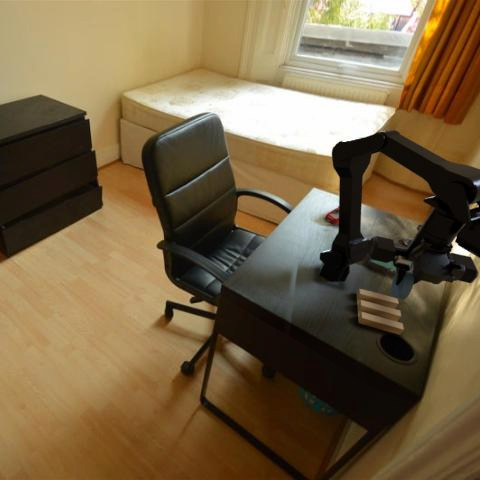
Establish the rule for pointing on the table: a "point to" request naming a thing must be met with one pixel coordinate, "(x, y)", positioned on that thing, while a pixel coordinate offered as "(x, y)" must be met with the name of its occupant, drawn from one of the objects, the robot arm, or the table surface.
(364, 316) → the rack
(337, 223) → the race car
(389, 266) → the disk drive
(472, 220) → the robot arm
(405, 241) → the decorative disc
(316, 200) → the table surface
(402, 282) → the blue disc
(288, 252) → the table surface
